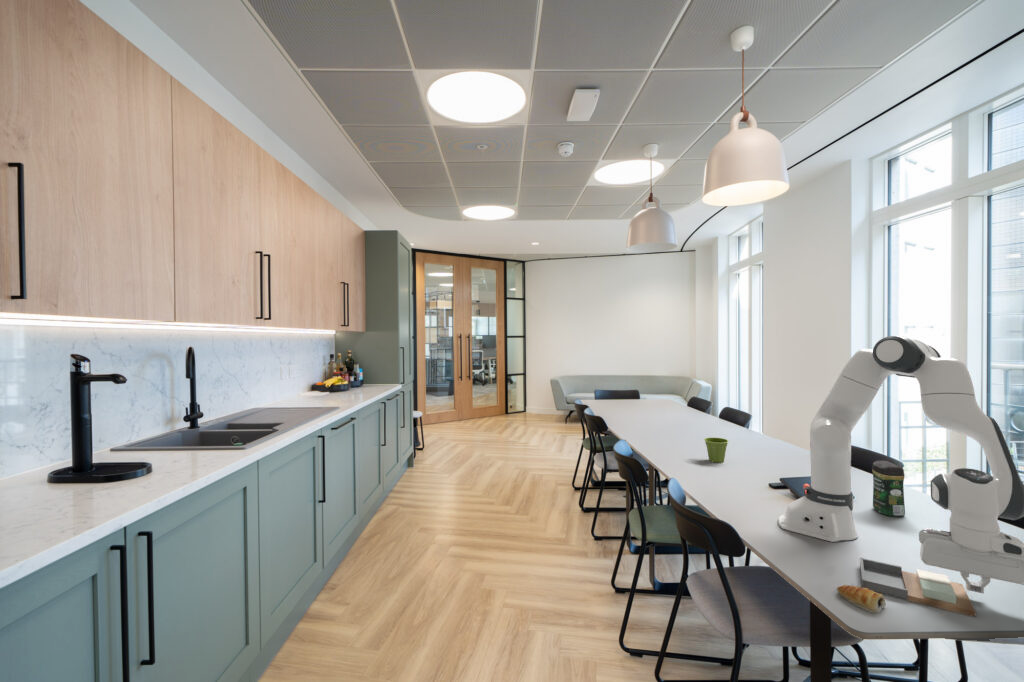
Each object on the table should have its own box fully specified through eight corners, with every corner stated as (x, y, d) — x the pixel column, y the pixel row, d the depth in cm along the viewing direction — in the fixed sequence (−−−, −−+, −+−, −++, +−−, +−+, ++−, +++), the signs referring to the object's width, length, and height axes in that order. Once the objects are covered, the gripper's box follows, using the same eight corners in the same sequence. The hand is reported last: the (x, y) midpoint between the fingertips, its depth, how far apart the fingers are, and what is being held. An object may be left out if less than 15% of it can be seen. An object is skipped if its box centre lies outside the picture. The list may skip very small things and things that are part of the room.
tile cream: (919, 585, 117) (919, 577, 117) (916, 576, 121) (916, 569, 121) (951, 592, 114) (951, 584, 114) (947, 583, 118) (947, 575, 118)
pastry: (832, 597, 115) (832, 582, 115) (844, 589, 119) (844, 574, 119) (877, 616, 107) (877, 600, 107) (888, 606, 111) (888, 591, 111)
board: (907, 600, 113) (907, 595, 113) (901, 575, 124) (901, 570, 124) (975, 616, 106) (975, 611, 106) (962, 588, 117) (962, 584, 117)
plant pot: (701, 462, 237) (701, 440, 237) (708, 456, 246) (708, 436, 246) (725, 465, 229) (725, 443, 229) (731, 460, 238) (731, 439, 238)
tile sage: (922, 596, 112) (922, 588, 112) (919, 586, 116) (919, 579, 116) (956, 604, 109) (956, 595, 109) (952, 594, 113) (951, 586, 113)
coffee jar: (868, 507, 172) (867, 458, 172) (892, 508, 171) (891, 459, 170) (884, 517, 163) (883, 466, 162) (909, 518, 161) (908, 466, 161)
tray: (862, 589, 118) (862, 579, 118) (860, 566, 129) (860, 557, 129) (907, 600, 113) (907, 590, 113) (901, 575, 124) (901, 566, 124)
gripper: (920, 531, 116) (921, 584, 117) (1038, 551, 104) (1039, 610, 105) (916, 522, 121) (917, 573, 122) (1029, 541, 109) (1029, 597, 110)
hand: (974, 590), depth 113 cm, fingers closed
